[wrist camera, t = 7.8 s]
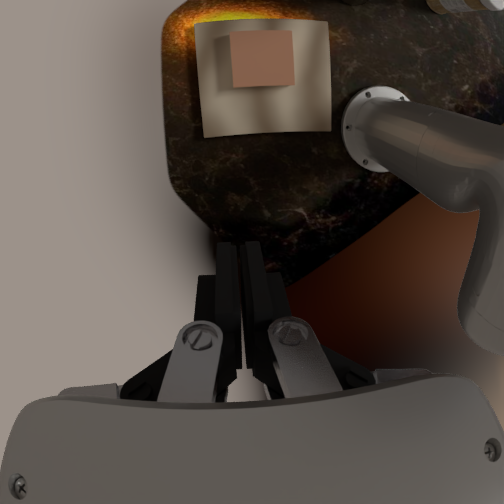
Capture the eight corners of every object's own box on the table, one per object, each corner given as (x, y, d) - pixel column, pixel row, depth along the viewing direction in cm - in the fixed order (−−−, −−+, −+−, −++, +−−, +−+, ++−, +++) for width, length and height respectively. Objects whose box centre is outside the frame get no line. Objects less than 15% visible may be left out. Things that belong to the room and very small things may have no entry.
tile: (229, 34, 26) (288, 33, 27) (233, 87, 30) (291, 85, 30) (229, 31, 25) (291, 30, 25) (233, 87, 29) (294, 85, 29)
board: (324, 23, 27) (327, 21, 26) (328, 129, 35) (331, 131, 34) (195, 25, 26) (194, 23, 25) (204, 136, 34) (204, 137, 33)
